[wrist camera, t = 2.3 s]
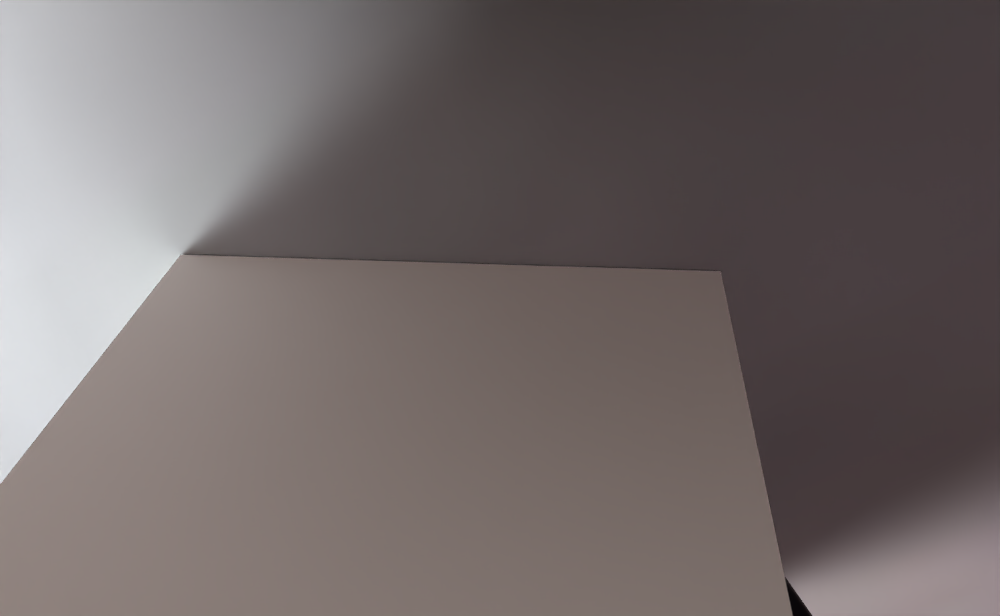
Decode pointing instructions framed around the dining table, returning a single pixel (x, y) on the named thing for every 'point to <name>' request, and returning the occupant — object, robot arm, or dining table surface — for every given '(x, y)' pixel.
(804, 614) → the robot arm
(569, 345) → the white cube
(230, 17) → the dining table surface
